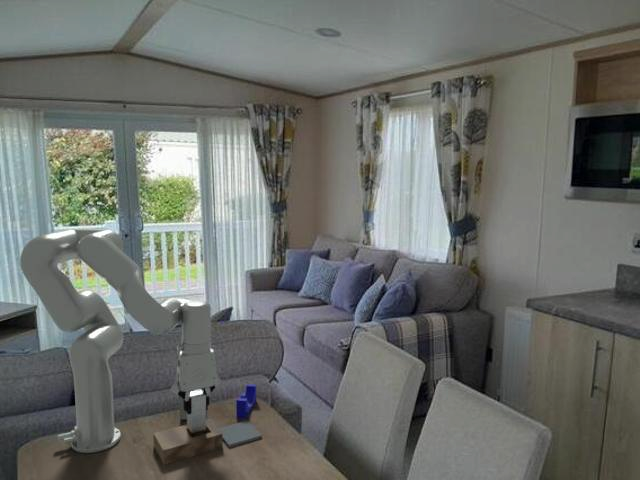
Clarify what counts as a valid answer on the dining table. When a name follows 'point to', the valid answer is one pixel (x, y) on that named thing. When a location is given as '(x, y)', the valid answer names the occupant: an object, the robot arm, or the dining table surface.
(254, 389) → the cable clip
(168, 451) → the wooden block with hole
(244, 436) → the rubber mat
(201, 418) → the steel bar
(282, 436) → the dining table surface
